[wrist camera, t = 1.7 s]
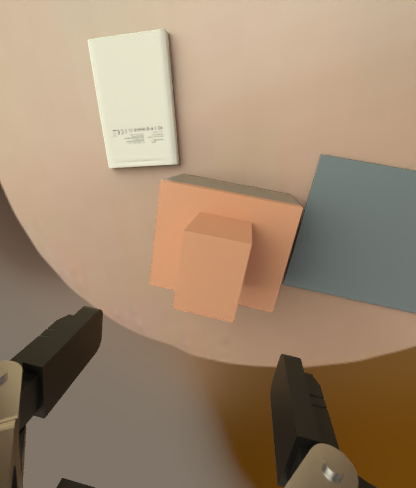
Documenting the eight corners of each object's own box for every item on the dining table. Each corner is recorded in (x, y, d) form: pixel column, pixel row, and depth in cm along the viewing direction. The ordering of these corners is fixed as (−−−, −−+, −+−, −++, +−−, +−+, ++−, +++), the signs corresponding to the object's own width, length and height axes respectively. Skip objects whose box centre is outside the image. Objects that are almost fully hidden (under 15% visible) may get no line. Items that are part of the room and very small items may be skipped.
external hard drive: (169, 34, 27) (180, 164, 31) (94, 45, 29) (113, 167, 32) (164, 27, 26) (177, 164, 30) (85, 39, 27) (107, 168, 31)
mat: (320, 154, 28) (321, 154, 28) (486, 183, 27) (489, 183, 26) (283, 282, 33) (283, 284, 33) (421, 313, 32) (423, 314, 31)
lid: (168, 178, 25) (131, 188, 17) (298, 202, 24) (320, 226, 16) (157, 274, 29) (121, 319, 21) (271, 299, 28) (278, 357, 20)
